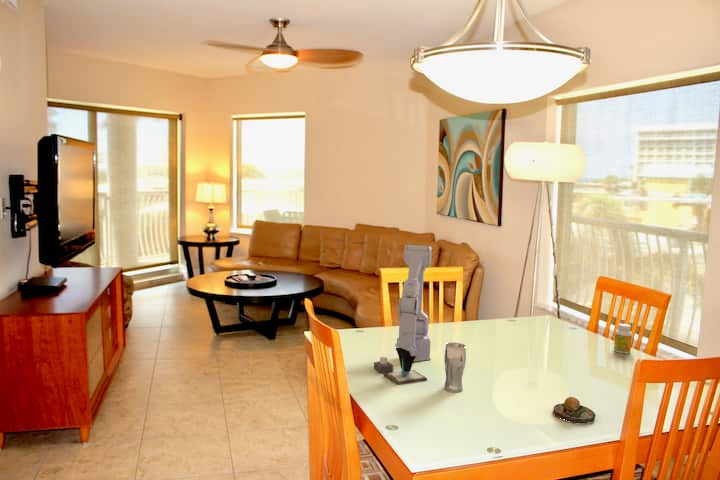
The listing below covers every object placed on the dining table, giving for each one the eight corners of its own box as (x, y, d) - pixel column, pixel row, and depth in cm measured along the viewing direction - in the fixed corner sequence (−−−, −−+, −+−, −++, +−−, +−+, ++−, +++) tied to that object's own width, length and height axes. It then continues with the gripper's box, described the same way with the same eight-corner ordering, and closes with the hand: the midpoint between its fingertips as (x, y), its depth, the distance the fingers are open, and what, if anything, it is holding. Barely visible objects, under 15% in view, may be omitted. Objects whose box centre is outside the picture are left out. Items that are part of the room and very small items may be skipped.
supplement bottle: (614, 352, 241) (616, 325, 240) (613, 348, 247) (615, 322, 246) (630, 354, 239) (633, 327, 238) (629, 350, 245) (632, 324, 243)
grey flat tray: (413, 371, 209) (413, 368, 209) (426, 380, 201) (427, 376, 201) (383, 376, 203) (383, 372, 203) (396, 384, 195) (396, 380, 195)
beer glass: (451, 394, 189) (453, 349, 187) (438, 386, 195) (440, 343, 193) (468, 391, 192) (470, 347, 190) (455, 384, 198) (457, 341, 196)
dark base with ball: (603, 423, 171) (605, 399, 170) (566, 426, 169) (568, 401, 168) (579, 407, 183) (581, 384, 182) (545, 409, 180) (547, 386, 179)
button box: (386, 367, 212) (386, 360, 212) (392, 371, 208) (393, 364, 208) (373, 369, 210) (374, 362, 210) (380, 373, 206) (380, 366, 205)
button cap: (385, 365, 211) (385, 356, 210) (388, 367, 208) (389, 358, 208) (378, 365, 209) (378, 357, 209) (381, 368, 207) (382, 359, 207)
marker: (406, 372, 204) (407, 355, 203) (410, 374, 201) (411, 357, 201) (399, 372, 202) (400, 356, 202) (403, 375, 200) (404, 358, 199)
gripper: (389, 326, 206) (387, 363, 207) (403, 338, 192) (401, 377, 194) (408, 325, 208) (406, 362, 209) (423, 337, 194) (421, 376, 196)
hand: (405, 369), depth 202 cm, fingers closed on marker, 2 cm apart
